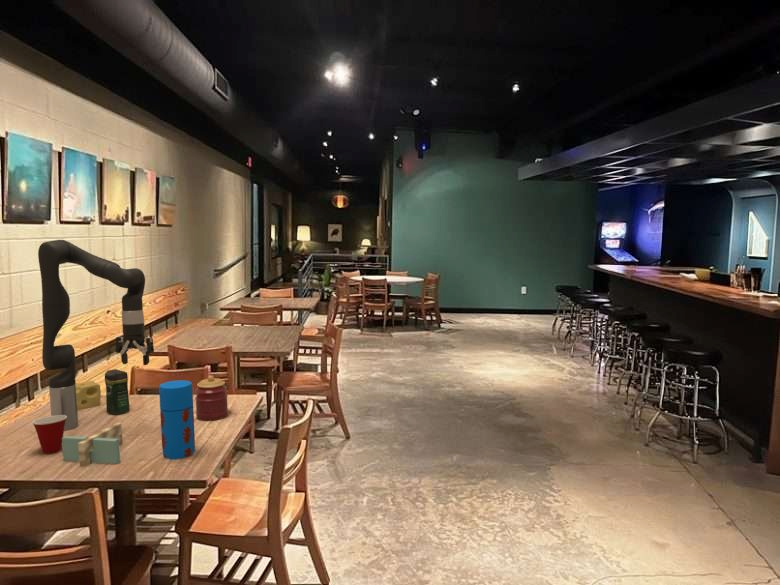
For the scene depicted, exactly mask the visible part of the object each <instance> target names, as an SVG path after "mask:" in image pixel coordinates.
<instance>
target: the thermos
mask: <svg viewBox="0 0 780 585" xmlns="http://www.w3.org/2000/svg"><path fill="white" fill-rule="evenodd" d="M158 388H159V389H158V394H159V410H160V411H159V412H160V415H159V416H160V430H161V432H160V433H161V447H162V457H163V458H164V459H167V460H181V459H186V458H188V457H191V456H192V455H194V454H195V451H196V450H195V449H196V448H195V446H196V442H195V441H196V440H195V439H196V438H195V416H194V414H195V413H194V394H193V384H192V381H189V380H184V379H183V380H181V379H179V380H171V381H166V382H163V383H161V384H160V385H159V387H158Z"/></svg>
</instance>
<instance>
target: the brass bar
mask: <svg viewBox="0 0 780 585" xmlns="http://www.w3.org/2000/svg"><path fill="white" fill-rule="evenodd" d="M95 438H111V439H119V447H120V446H122V445H123V443H124V442H123V428H122V423H121V422H116V423H114V424H112V425H110V426H108V427H106V428H104V429H103V430H100V431H99V432H96V433H94V434H93V435H91V436H89V437H88V438H87V439H85V440H83V441H81V442H79V443H78V447H79V461H78V462H79V467H87V466H88V465H90V464H91V462H90V458H89V452H91V451H92V450H93V439H95Z"/></svg>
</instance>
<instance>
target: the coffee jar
mask: <svg viewBox="0 0 780 585" xmlns="http://www.w3.org/2000/svg"><path fill="white" fill-rule="evenodd" d="M104 383H105V393H106V394H105V396H106V397H105V398H106V399H105V400H106V401H105V402H106V404H105V405H106V413H108V414H111V415H124V414H126V413H129V411H130V399H129V385H128V383H129V376H128V372H126V371H123V370H119V369H117V368H116V369H115V368H114V369H109V370H107V371H106V372H105V373H104Z"/></svg>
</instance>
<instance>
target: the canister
mask: <svg viewBox="0 0 780 585" xmlns="http://www.w3.org/2000/svg"><path fill="white" fill-rule="evenodd" d="M225 383H226V382H225V381H224V380H222V379H221V378H219V377H218V378H216V377H214V375H212V374H211V375H208V376H207V378H205V379H202V380H200V381H199V382H198V383H197V384H196V386H197V387H196V388H195V389H194V392H195V393H196V395H195V406H196V407H195V408H196V409H195V410H196V411H195V416H196V419H197V420H200V421H204V422H205V421H207V422H208V421H210V422H211V421H218V420H221V419H224V418H226V417H227V416H228V414H229V413H228V412H229V408H228V394H227V391H228V386H227V385H225Z"/></svg>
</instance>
